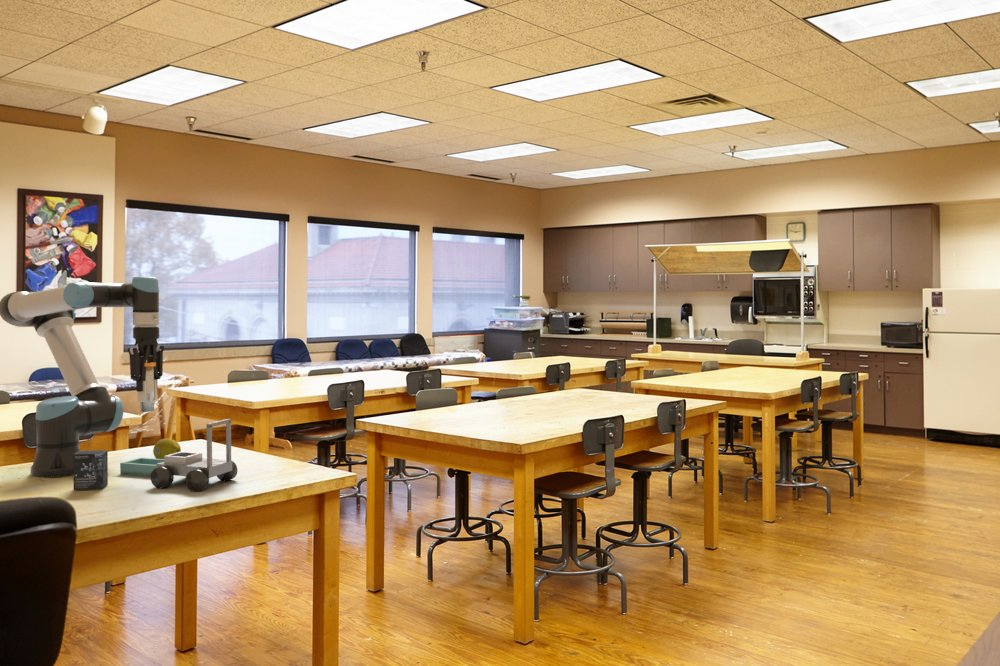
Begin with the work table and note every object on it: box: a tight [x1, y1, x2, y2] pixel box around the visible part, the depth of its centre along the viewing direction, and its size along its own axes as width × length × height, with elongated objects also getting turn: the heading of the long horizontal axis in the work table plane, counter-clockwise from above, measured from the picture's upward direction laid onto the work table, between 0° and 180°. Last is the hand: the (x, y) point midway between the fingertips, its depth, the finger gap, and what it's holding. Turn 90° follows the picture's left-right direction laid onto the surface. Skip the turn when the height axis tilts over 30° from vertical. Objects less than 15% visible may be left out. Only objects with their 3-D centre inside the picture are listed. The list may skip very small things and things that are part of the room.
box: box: [73, 449, 109, 491], centre depth 232 cm, size 8×6×11 cm
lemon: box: [152, 438, 182, 459], centre depth 269 cm, size 11×8×8 cm
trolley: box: [150, 418, 238, 493], centre depth 238 cm, size 18×16×19 cm
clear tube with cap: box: [139, 361, 156, 413], centre depth 252 cm, size 5×5×15 cm
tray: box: [119, 457, 164, 477], centre depth 253 cm, size 13×9×4 cm
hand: (147, 400), depth 252 cm, fingers closed on clear tube with cap, 4 cm apart
